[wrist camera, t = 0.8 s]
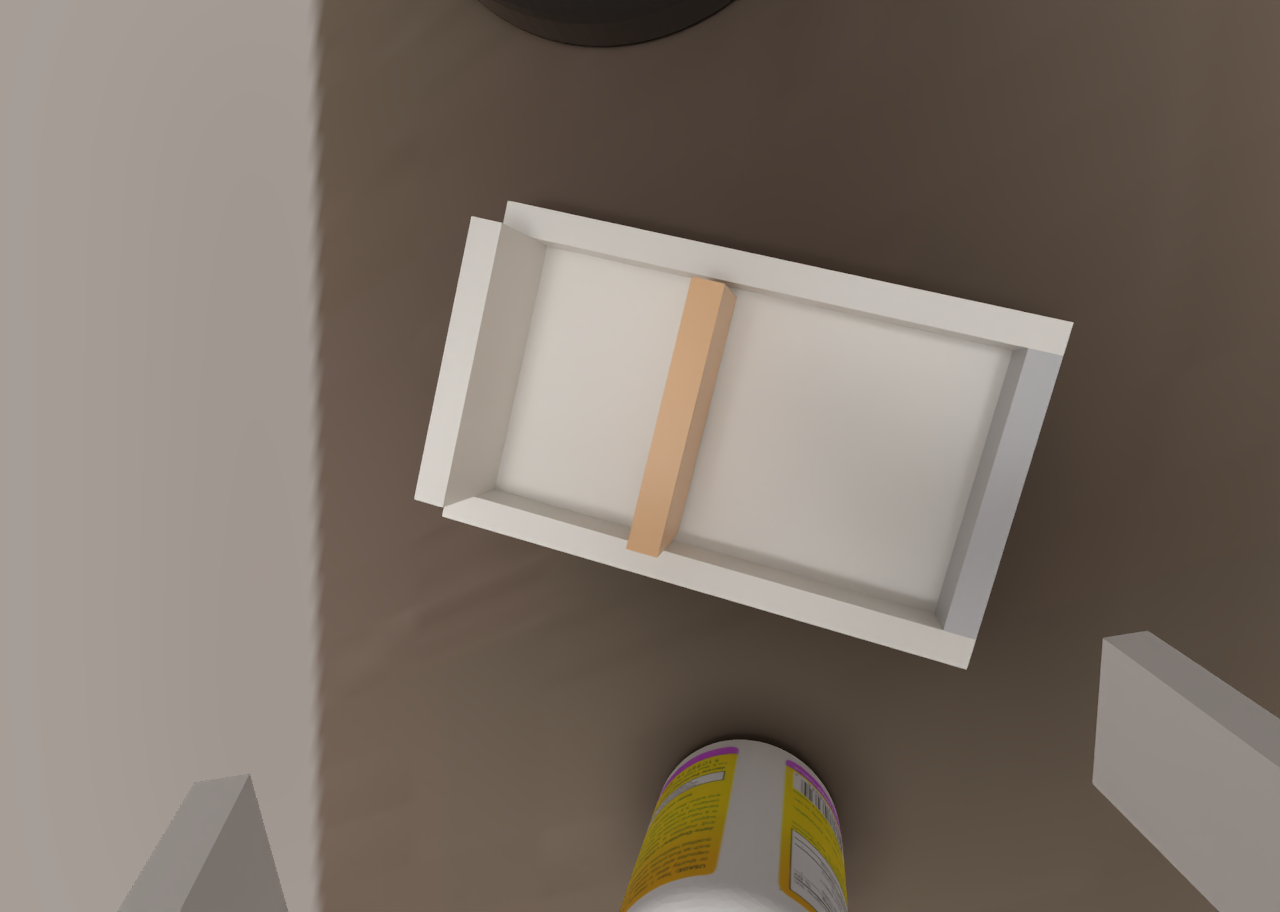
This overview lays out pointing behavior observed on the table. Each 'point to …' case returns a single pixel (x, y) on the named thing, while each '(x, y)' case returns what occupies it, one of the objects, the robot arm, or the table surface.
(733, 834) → the supplement bottle
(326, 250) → the table surface
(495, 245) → the tray
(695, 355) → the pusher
